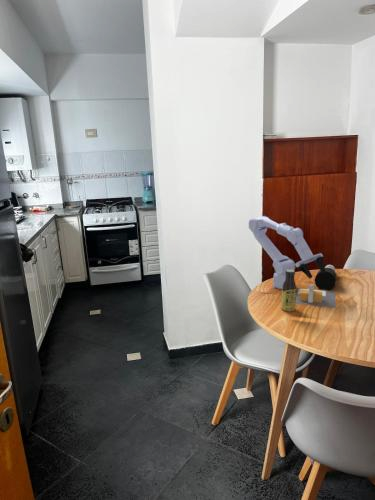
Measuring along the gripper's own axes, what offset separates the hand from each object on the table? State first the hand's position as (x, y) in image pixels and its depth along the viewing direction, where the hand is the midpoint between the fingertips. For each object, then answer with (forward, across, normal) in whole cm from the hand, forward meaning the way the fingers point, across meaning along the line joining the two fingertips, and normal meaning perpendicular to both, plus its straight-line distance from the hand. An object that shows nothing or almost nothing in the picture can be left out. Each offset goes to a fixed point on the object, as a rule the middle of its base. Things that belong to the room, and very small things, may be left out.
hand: (317, 275), depth 175 cm
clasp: (+9, -6, +5) cm, 12 cm away
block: (+9, -6, +6) cm, 12 cm away
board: (+10, -3, +8) cm, 13 cm away
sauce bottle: (+10, -22, +2) cm, 24 cm away
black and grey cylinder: (+2, +20, +26) cm, 33 cm away
